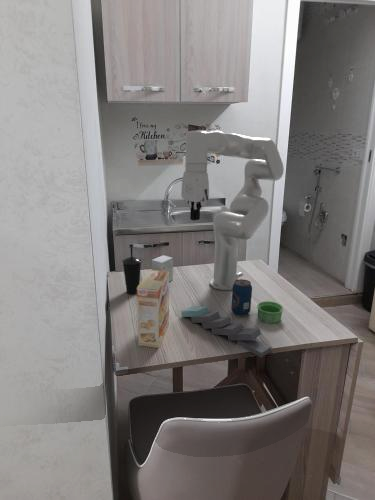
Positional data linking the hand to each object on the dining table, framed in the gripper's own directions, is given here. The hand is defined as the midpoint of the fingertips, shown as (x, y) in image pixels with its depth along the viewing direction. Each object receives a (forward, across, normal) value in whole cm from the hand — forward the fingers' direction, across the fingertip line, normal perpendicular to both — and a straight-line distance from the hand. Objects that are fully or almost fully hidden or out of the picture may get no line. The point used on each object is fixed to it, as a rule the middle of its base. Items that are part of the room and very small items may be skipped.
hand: (195, 219), depth 135 cm
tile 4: (+31, +22, -10) cm, 40 cm away
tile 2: (+31, +12, -10) cm, 35 cm away
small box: (+32, -22, +2) cm, 39 cm away
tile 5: (+31, +28, -9) cm, 43 cm away
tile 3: (+31, +18, -10) cm, 37 cm away
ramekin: (+32, +28, +11) cm, 44 cm away
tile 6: (+32, +32, -8) cm, 46 cm away
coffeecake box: (+32, +11, -27) cm, 43 cm away
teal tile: (+31, +7, -10) cm, 33 cm away
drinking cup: (+32, -21, -14) cm, 41 cm away
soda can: (+32, +19, +6) cm, 38 cm away
